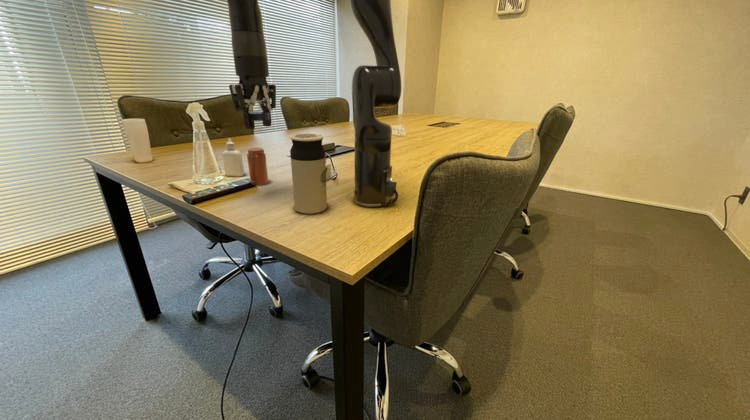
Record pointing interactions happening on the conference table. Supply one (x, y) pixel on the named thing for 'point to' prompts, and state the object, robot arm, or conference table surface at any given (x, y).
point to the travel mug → (308, 173)
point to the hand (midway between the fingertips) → (259, 127)
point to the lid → (260, 115)
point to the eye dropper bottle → (232, 160)
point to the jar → (257, 166)
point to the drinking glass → (138, 139)
